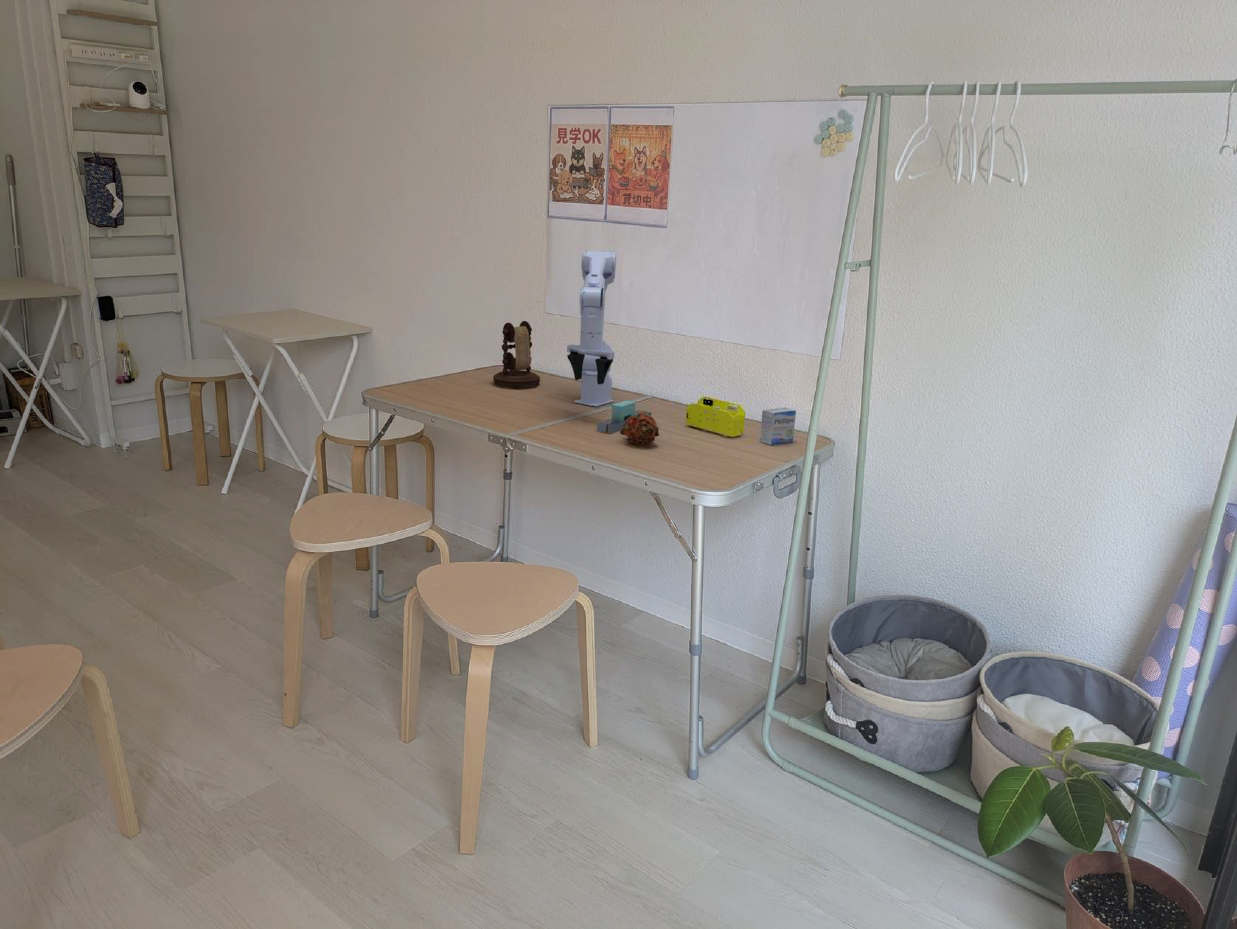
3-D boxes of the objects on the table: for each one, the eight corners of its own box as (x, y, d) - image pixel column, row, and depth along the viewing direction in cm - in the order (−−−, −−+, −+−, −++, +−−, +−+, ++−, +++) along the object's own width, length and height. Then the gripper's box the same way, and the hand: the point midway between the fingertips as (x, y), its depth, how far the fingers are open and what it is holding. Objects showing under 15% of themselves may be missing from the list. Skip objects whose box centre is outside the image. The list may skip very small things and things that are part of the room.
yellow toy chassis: (744, 436, 244) (746, 405, 242) (731, 439, 240) (733, 408, 238) (697, 423, 255) (699, 394, 252) (684, 427, 251) (686, 397, 248)
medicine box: (770, 445, 236) (773, 413, 233) (759, 441, 240) (762, 409, 237) (793, 442, 240) (796, 410, 237) (781, 438, 244) (785, 406, 241)
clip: (625, 421, 253) (626, 400, 251) (634, 423, 251) (635, 402, 249) (610, 426, 247) (611, 404, 245) (620, 428, 246) (621, 406, 244)
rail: (638, 417, 258) (638, 409, 257) (650, 420, 256) (651, 412, 255) (596, 431, 242) (597, 422, 241) (609, 433, 240) (610, 425, 239)
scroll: (513, 391, 282) (514, 326, 276) (483, 383, 291) (483, 320, 285) (549, 385, 292) (550, 323, 286) (519, 377, 302) (520, 316, 296)
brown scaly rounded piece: (651, 456, 227) (625, 450, 238) (673, 433, 230) (647, 429, 240) (633, 431, 224) (607, 426, 234) (656, 408, 226) (630, 404, 236)
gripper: (560, 330, 248) (559, 379, 252) (604, 337, 240) (602, 388, 244) (576, 327, 253) (574, 376, 257) (619, 334, 246) (617, 384, 250)
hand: (589, 381), depth 251 cm, fingers open, 7 cm apart
